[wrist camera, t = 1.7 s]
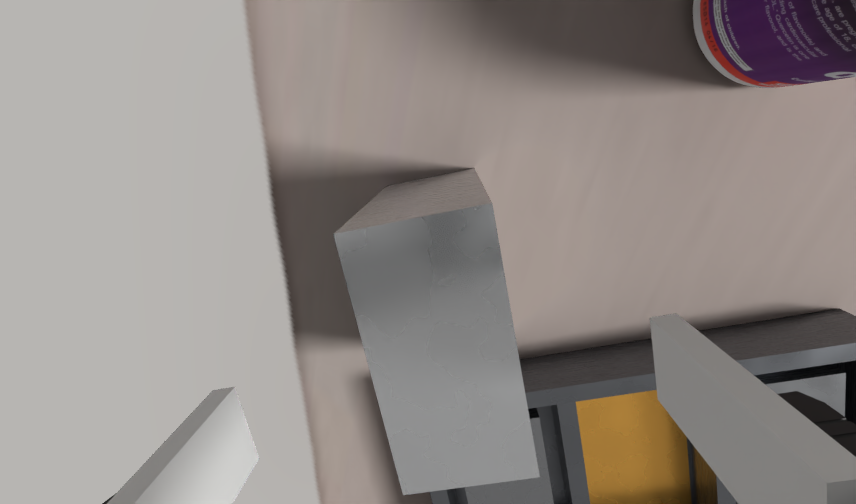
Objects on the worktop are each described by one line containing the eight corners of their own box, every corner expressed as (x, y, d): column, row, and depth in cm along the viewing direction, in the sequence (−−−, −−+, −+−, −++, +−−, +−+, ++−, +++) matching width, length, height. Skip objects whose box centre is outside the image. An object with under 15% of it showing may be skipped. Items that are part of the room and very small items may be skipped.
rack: (414, 376, 29) (409, 410, 25) (839, 308, 26) (898, 336, 23) (457, 554, 32) (457, 605, 29) (835, 509, 30) (885, 560, 26)
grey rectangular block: (386, 186, 26) (333, 234, 14) (474, 168, 25) (492, 203, 14) (423, 344, 28) (402, 495, 17) (504, 331, 28) (539, 477, 16)
